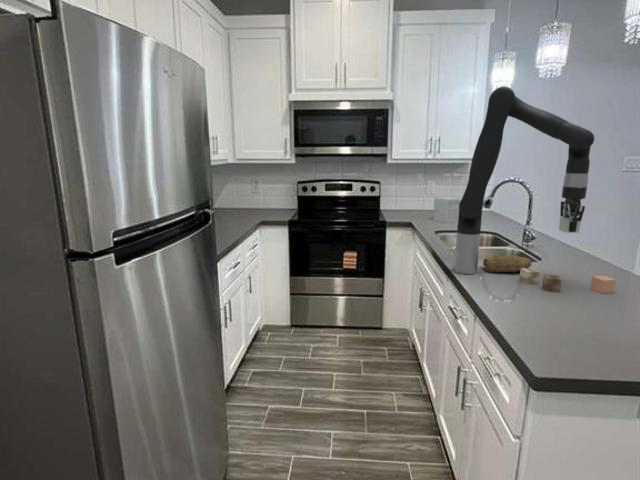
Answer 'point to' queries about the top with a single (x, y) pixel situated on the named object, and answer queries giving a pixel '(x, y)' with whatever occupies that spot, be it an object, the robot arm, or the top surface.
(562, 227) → the sage block
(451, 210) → the supplement box
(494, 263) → the sponge
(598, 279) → the terracotta block
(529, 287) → the top surface
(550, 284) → the walnut block
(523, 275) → the maple block
